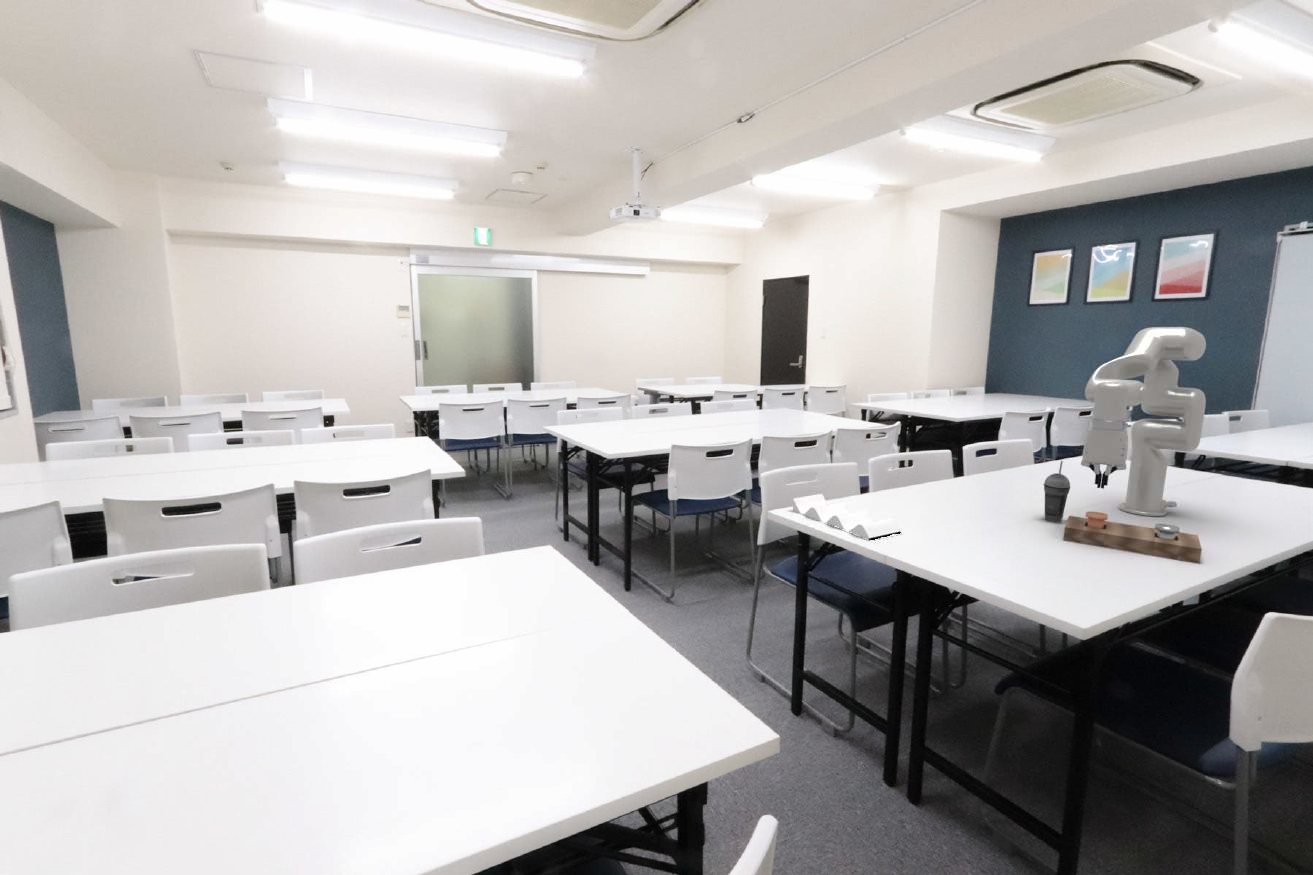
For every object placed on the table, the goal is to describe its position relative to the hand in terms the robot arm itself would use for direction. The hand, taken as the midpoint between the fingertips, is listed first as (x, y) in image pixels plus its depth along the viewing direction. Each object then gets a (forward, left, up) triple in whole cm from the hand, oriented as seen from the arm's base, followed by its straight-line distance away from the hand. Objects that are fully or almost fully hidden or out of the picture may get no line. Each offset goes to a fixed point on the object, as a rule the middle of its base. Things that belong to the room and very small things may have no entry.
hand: (1100, 487), depth 175 cm
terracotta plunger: (0, 0, -15) cm, 15 cm away
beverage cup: (+2, -17, -16) cm, 23 cm away
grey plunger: (-13, +10, -15) cm, 22 cm away
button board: (-6, +5, -16) cm, 17 cm away
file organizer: (+70, -14, -17) cm, 73 cm away
